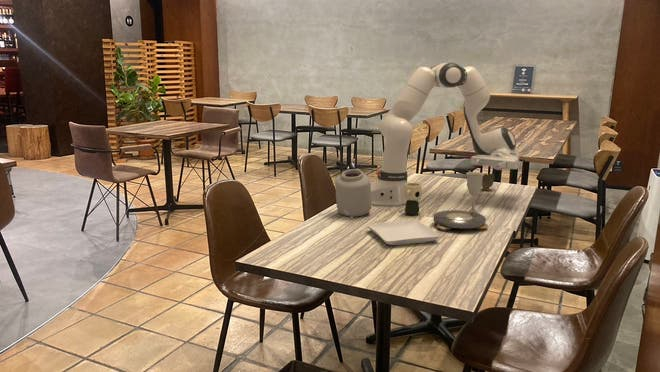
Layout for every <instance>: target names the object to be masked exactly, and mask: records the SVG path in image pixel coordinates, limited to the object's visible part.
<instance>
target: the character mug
mask: <svg viewBox="0 0 660 372" xmlns="http://www.w3.org/2000/svg"><path fill="white" fill-rule="evenodd" d="M404 198H405V199H407V201H406V203H405V206H404V213H405V214H408V215H413V216H414V215H415V216H416V215H419V213H420V205H419V204H420V203H419V200H421V198H422V184H421V183H419V182H407V183H405V185H404Z"/></svg>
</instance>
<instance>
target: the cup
mask: <svg viewBox="0 0 660 372" xmlns="http://www.w3.org/2000/svg"><path fill="white" fill-rule="evenodd" d="M483 174H484V176H483V180H482V187H481V189H482V191H485V192H488V191H490V189H491V187H493V185H494V181H495V175H494V174H493V173H484V172H483Z"/></svg>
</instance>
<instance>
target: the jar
mask: <svg viewBox="0 0 660 372" xmlns="http://www.w3.org/2000/svg"><path fill="white" fill-rule="evenodd" d="M351 164H352V167H355V164H354V163H353V162H351ZM349 168H350V167H349V166H347V169H346V170H343V171H341V174H340V175H339V176H337V178H336V179H335V180H334V186H335V187H334V188H335V198H336V199H335V201H336V202H335V203H336V208H337V212H338V213H340V214H341V215H343V216H346V217H348V218H356V217H357V218H358V217H361V216H364V215H366V214H368V213H369V212H370V211H371V210H372V206H373V205H372V204H371V185H370V184H371V179H370V177H369V176H368V175H367V174H365V173H364V172H363V171H362V170H361V169H359V168H355V169H354V168H353V169H349Z"/></svg>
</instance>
